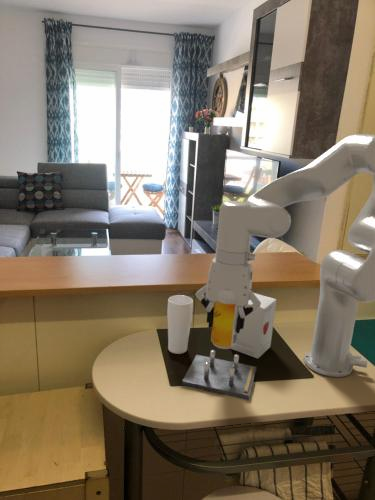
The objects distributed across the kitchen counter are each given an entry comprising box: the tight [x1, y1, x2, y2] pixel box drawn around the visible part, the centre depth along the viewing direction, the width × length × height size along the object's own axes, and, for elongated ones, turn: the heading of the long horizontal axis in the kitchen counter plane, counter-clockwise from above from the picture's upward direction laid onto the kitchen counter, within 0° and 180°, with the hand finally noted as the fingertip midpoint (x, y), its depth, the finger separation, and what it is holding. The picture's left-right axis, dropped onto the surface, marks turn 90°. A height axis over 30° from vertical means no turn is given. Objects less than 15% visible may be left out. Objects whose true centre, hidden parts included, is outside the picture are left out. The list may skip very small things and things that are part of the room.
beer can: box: [210, 289, 239, 350], centre depth 99 cm, size 6×6×15 cm
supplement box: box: [230, 292, 277, 360], centre depth 117 cm, size 9×9×15 cm
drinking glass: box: [166, 294, 194, 355], centre depth 114 cm, size 7×7×15 cm
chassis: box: [181, 349, 257, 401], centre depth 103 cm, size 16×13×5 cm
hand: (224, 327), depth 100 cm, fingers closed on beer can, 6 cm apart
